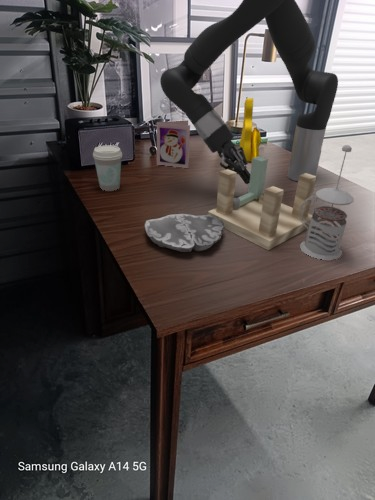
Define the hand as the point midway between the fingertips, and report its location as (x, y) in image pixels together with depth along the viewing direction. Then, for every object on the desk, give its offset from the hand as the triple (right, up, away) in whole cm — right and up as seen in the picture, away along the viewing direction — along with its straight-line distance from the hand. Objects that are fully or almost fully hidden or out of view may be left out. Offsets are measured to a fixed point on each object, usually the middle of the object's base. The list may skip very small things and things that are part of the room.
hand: (249, 181), depth 110 cm
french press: (+13, -19, -17) cm, 29 cm away
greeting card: (-22, +11, +30) cm, 39 cm away
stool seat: (+2, -12, -7) cm, 14 cm away
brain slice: (-18, -17, -15) cm, 29 cm away
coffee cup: (-42, 0, +9) cm, 43 cm away
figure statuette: (+5, +15, +38) cm, 41 cm away
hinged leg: (-2, -6, -2) cm, 7 cm away
